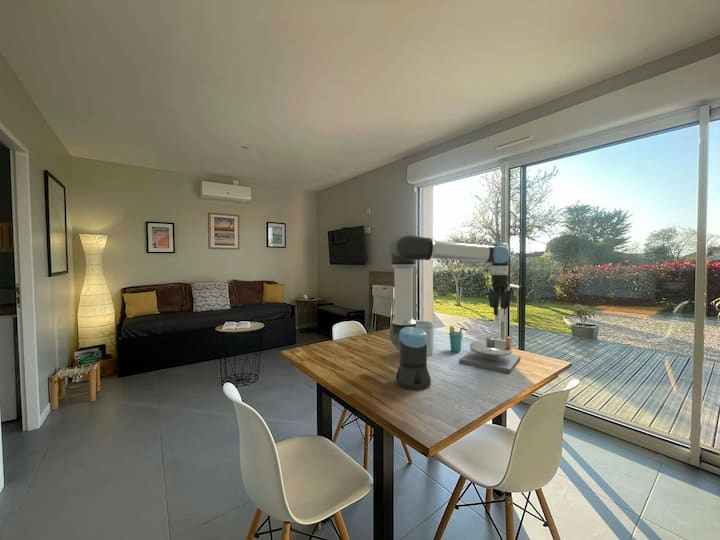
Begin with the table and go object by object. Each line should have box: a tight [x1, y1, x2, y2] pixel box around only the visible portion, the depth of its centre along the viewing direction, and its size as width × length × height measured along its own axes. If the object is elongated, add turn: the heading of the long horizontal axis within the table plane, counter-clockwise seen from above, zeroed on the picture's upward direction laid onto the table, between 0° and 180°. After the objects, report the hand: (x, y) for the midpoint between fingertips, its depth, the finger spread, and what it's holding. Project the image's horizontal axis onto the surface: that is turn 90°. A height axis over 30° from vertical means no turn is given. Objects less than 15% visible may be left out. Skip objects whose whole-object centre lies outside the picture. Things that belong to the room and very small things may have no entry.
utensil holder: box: [414, 319, 435, 357], centre depth 174 cm, size 15×15×18 cm
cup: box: [448, 325, 468, 353], centre depth 175 cm, size 14×8×15 cm, turn 30°
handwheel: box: [469, 336, 513, 356], centre depth 158 cm, size 20×20×8 cm
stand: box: [458, 349, 522, 374], centre depth 159 cm, size 24×24×6 cm
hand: (499, 321), depth 151 cm, fingers open, 2 cm apart
